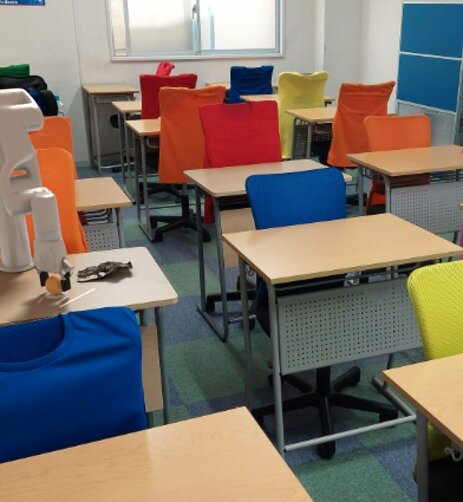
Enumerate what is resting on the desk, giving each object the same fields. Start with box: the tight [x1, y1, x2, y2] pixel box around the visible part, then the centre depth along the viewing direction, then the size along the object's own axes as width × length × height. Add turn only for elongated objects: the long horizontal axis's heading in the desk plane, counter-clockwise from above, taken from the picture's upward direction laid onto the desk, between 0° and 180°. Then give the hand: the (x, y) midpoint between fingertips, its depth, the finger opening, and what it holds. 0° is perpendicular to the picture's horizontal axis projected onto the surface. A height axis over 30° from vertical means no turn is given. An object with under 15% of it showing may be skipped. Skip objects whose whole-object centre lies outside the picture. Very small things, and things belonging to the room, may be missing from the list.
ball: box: [44, 274, 62, 295], centre depth 189 cm, size 6×6×6 cm
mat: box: [44, 287, 96, 308], centre depth 188 cm, size 20×16×1 cm
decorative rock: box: [77, 260, 134, 283], centre depth 205 cm, size 19×6×15 cm
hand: (55, 287), depth 189 cm, fingers open, 8 cm apart
